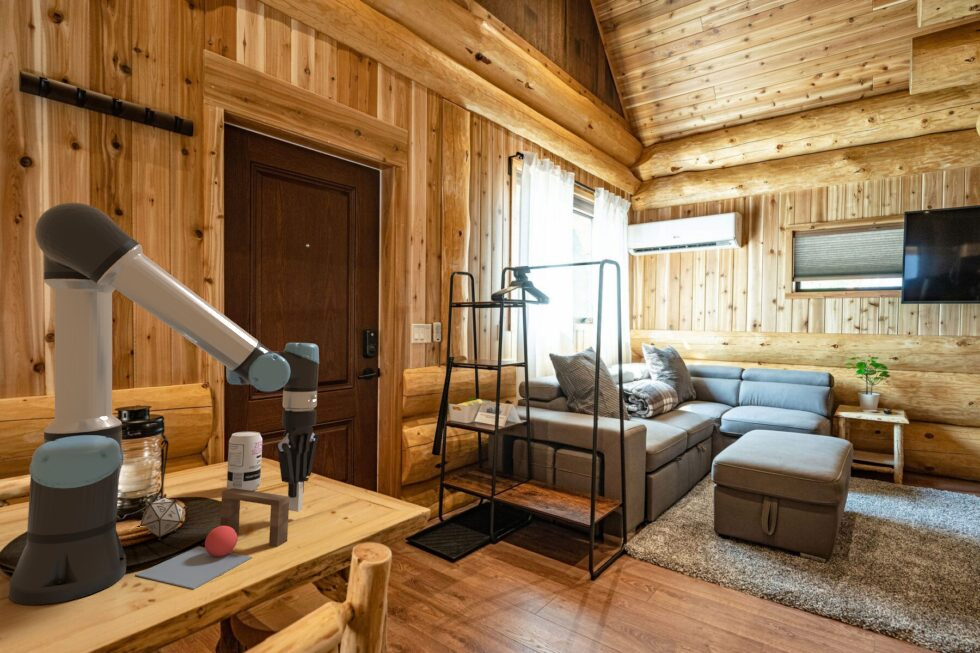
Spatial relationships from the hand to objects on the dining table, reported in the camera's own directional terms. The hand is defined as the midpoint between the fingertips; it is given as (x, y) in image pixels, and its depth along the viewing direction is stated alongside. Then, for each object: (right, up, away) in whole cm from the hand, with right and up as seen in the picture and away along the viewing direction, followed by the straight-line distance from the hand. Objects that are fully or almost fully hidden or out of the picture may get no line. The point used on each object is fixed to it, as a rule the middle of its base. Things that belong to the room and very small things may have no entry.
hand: (295, 509), depth 118 cm
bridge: (-4, -1, -12) cm, 13 cm away
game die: (-23, -1, -13) cm, 26 cm away
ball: (-6, +2, -21) cm, 22 cm away
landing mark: (-8, -1, -26) cm, 27 cm away
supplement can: (-22, -2, +20) cm, 30 cm away
